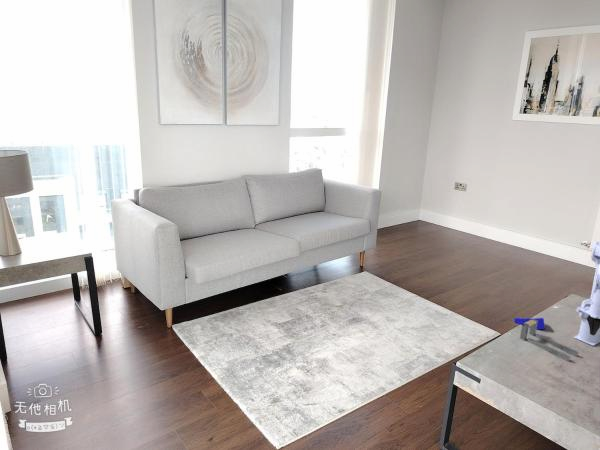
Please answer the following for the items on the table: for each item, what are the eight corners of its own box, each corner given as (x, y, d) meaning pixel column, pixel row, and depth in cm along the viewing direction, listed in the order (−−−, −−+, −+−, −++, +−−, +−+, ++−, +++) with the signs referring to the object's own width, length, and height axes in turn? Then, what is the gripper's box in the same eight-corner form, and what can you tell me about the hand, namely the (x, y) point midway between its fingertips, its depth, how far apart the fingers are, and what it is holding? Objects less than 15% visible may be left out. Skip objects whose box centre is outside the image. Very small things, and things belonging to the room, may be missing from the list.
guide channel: (536, 337, 187) (537, 333, 187) (577, 356, 174) (578, 351, 173) (527, 342, 183) (527, 338, 183) (568, 361, 169) (569, 357, 169)
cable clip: (544, 328, 191) (544, 327, 196) (543, 318, 192) (543, 317, 197) (515, 328, 197) (515, 327, 202) (514, 318, 198) (514, 317, 203)
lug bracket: (530, 334, 190) (533, 318, 188) (534, 336, 188) (538, 320, 186) (519, 339, 185) (522, 323, 183) (524, 341, 183) (527, 325, 181)
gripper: (575, 299, 172) (569, 329, 175) (616, 313, 160) (608, 345, 164) (583, 295, 176) (577, 324, 179) (624, 309, 164) (616, 340, 168)
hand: (592, 334), depth 172 cm, fingers closed
